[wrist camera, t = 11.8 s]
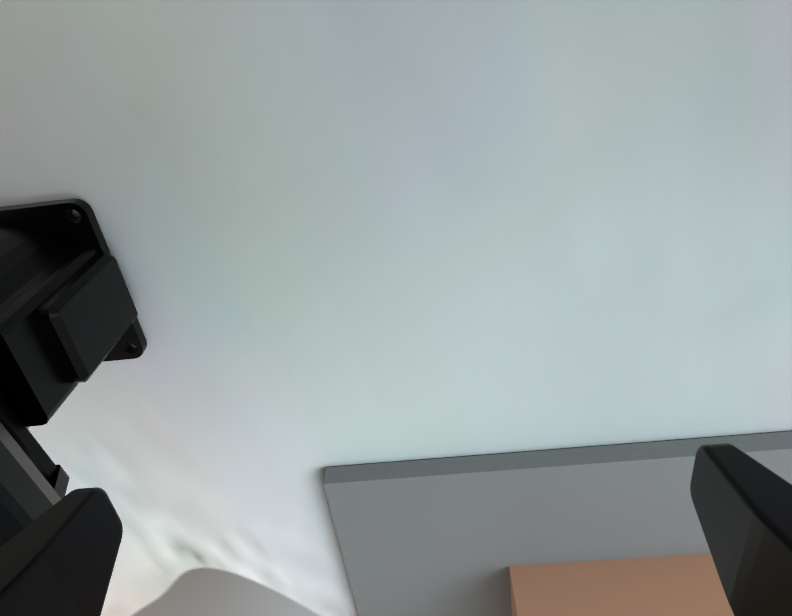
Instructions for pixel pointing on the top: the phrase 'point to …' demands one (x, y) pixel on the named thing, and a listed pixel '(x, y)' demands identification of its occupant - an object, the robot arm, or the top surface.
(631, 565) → the block
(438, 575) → the baseplate
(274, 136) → the top surface
